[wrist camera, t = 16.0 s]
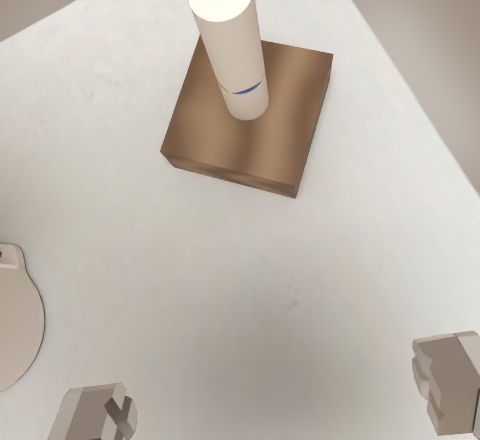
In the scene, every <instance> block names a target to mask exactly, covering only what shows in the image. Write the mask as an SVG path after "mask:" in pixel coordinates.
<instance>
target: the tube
mask: <svg viewBox="0 0 480 440" xmlns="http://www.w3.org/2000/svg"><path fill="white" fill-rule="evenodd" d="M189 4H190V7H191V10H192V13H193V15H194V18H195V21H196V23H197V26H198V29H199V32H200V34H201V37H202V40H203V43H204V45H205V48H206V51H207V54H208V56H209V59H210V62H211V64H212V67H213V70H214V73H215V75H216V78H217V81H218V84H219V86H220V89H221V92H222V95H223V97H224V100H225V103H226V105H227V108H228V110H229V112H230V113H231V114H232V115H233V116H234V117H235V118H237V119H240V120H252V119H255V118H257V117H259V116H260V115H262V114H263V113H264V111H265V110H266V108H267V106H268V102H269V95H268V88H267V81H266V74H265V67H264V60H263V53H262V46H261V39H260V32H259V25H258V18H257V11H256V4H255V0H189Z"/></svg>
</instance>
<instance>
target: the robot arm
mask: <svg viewBox="0 0 480 440" xmlns="http://www.w3.org/2000/svg"><path fill="white" fill-rule="evenodd" d="M0 252H2V255H1V257H0V391H2V390H4V389H6V388H8V387H9V386H11V385H12V384H14V383H15V382H16V381H17V380H18V379H19V378H20V377H21V376H22V375H23V374H24V373H25V372H26V371H27V370H28V368H29V367H30V365H31V364H32V362H33V360H34V359H35V357H36V355H37V353H38V350H39V347H40V344H41V341H42V337H43V331H44V311H43V305H42V301H41V298H40V295H39V293H38V291H37V289H36V287H35V285H34V284H33V282H32V281H31V279H30V278H29V276H28V274H27V272H26V269H25V263H24V258H23V254H22V251H21V249H20V248H19V247H18V246H16V245H10V244H0ZM412 349H413V351H414V353H415V357H414V358H413V359H412V368H413V373H414V378H415V381H416V384H417V387H418V390H419V392H420V395H421V396H422V397H424V398H425V399H426V400H428V404H427V412H428V414H429V416H430V419H431V421H432V424H433V426H434V428H435V431H436V433H437V435H438V436H441V435H452V434H463V433H473V435H474V436H475V437H476V438H477V439H479V440H480V337H479V336H478V334H477V333H476V332H474V331H467V332H461V333H454V334H451V333H450V334H444V335H438V336H432V337H426V338H419V339H414V340H413V347H412ZM125 393H126V388H125V387H124V385H123V384H122V383H116V384H108V385H99V386H91V387H83V388H76V389H70V390H69V391H68V392H67V393H66V394H65V396H64V399H63V401H62V404H61V406H60V409H59V412H58V414H57V417H56V419H55V422H54V424H53V427H52V430H51V432H50V435H49V437H48V440H130V438H131V437H132V436H133V435H134V433H135V430H136V425H137V410H136V406H135V403H134V402H133V400H132V399H131V398H129V397H127V396H125Z"/></svg>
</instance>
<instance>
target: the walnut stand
mask: <svg viewBox="0 0 480 440" xmlns="http://www.w3.org/2000/svg"><path fill="white" fill-rule="evenodd" d="M261 46H262V53H263V60H264V67H265V74H266V81H267V88H268V95H269V102H268V106H267V108H266V110H265V111H264V113H263V114H262V115H260V116H259V117H257V118H255V119H252V120H240V119H237V118H235V117H234V116H233V115H232V114H231V113H230V112H229V110H228V108H227V105H226V103H225V100H224V97H223V95H222V92H221V89H220V86H219V84H218V81H217V78H216V75H215V73H214V70H213V67H212V64H211V62H210V59H209V56H208V54H207V51H206V48H205V45H204V43H203V40H202V37H201V34H200V36H199V39H198V42H197V45H196V48H195V51H194V54H193V57H192V60H191V63H190V65H189V68H188V71H187V74H186V77H185V80H184V83H183V86H182V89H181V92H180V95H179V98H178V100H177V103H176V106H175V109H174V112H173V115H172V118H171V121H170V124H169V127H168V130H167V133H166V135H165V138H164V141H163V144H162V147H161V150H160V152H161V153H162V154H163V155H164V156H165V157H166V158H167V160H168V161H169V162H170V163H171V164H172V165H173V166H174V167H176V168H180V169H184V170H188V171H192V172H196V173H199V174H203V175H207V176H211V177H215V178H219V179H223V180H226V181H230V182H234V183H238V184H242V185H246V186H249V187H253V188H257V189H261V190H265V191H269V192H273V193H276V194H280V195H284V196H288V197H292V198H296V195H297V191H298V188H299V184H300V181H301V177H302V174H303V170H304V167H305V164H306V160H307V157H308V153H309V150H310V146H311V143H312V139H313V136H314V132H315V129H316V125H317V122H318V118H319V115H320V111H321V108H322V104H323V101H324V97H325V94H326V90H327V87H328V84H329V80H330V73H331V66H332V60H333V54H330V53H325V52H320V51H315V50H309V49H304V48H299V47H294V46H289V45H283V44H278V43H273V42H268V41H263V40H261Z"/></svg>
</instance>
